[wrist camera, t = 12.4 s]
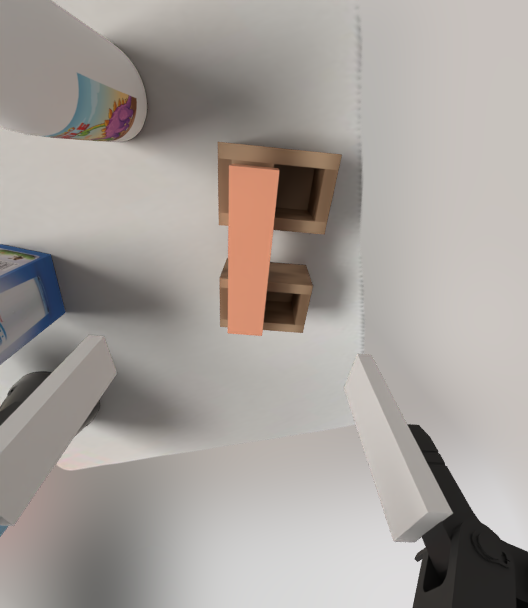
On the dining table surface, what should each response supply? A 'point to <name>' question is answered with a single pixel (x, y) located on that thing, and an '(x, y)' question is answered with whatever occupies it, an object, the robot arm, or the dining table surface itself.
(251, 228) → the salmon bridge bar
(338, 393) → the dining table surface
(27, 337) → the milk carton
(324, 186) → the keyhole plates
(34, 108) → the milk bottle
